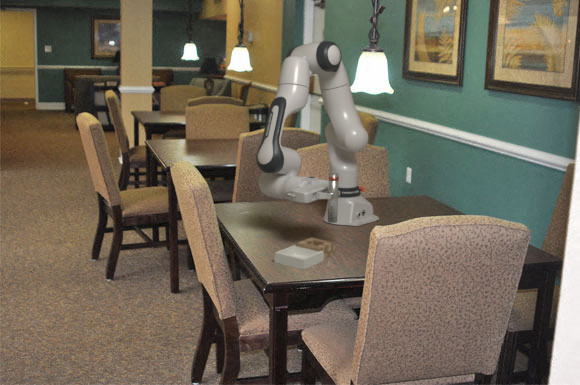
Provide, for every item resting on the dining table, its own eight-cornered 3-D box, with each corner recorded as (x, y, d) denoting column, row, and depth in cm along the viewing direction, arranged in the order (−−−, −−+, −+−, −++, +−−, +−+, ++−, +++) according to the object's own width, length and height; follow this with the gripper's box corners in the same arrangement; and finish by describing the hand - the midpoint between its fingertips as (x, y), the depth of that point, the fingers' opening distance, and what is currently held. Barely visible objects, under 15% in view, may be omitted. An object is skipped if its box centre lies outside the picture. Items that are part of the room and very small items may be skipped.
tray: (294, 254, 213) (294, 244, 212) (323, 261, 207) (323, 251, 206) (274, 262, 204) (274, 252, 204) (303, 269, 198) (304, 259, 198)
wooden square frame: (310, 249, 219) (311, 237, 218) (333, 254, 214) (334, 242, 213) (295, 255, 212) (295, 243, 211) (318, 261, 207) (319, 248, 206)
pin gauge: (333, 219, 221) (334, 172, 217) (339, 221, 218) (340, 174, 214) (325, 220, 219) (326, 173, 215) (331, 223, 216) (332, 175, 213)
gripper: (282, 185, 215) (318, 191, 207) (316, 175, 231) (351, 180, 223) (282, 204, 216) (318, 210, 208) (316, 193, 232) (350, 198, 225)
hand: (335, 195), depth 216 cm, fingers closed on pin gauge, 3 cm apart
